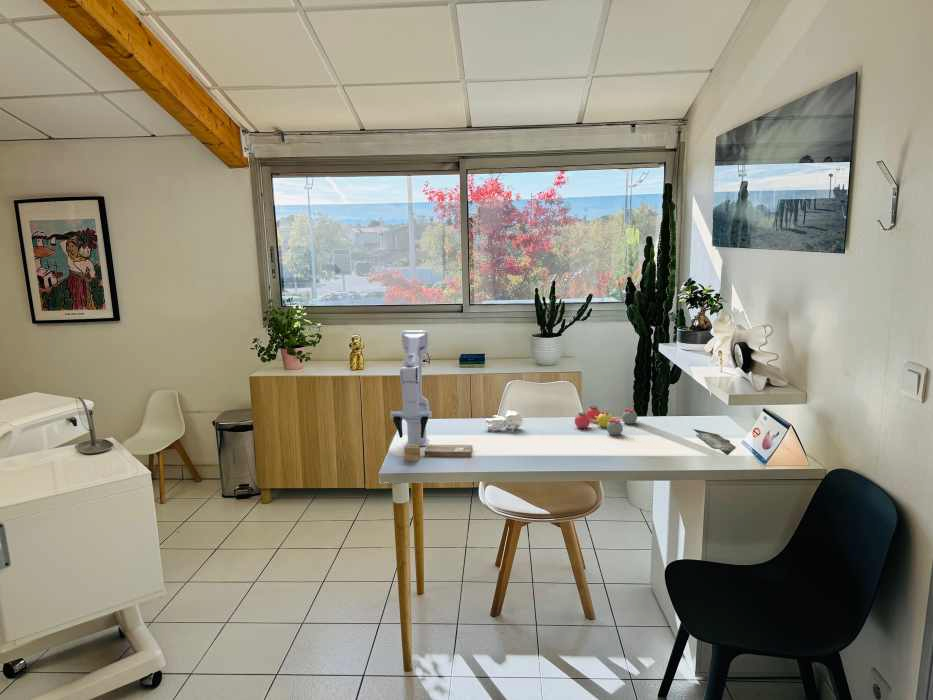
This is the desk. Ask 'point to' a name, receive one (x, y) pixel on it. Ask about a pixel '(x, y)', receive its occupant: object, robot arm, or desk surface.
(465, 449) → the board
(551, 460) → the desk surface
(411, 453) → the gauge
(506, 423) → the figurine
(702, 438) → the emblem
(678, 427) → the desk surface
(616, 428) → the molecule model
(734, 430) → the desk surface
